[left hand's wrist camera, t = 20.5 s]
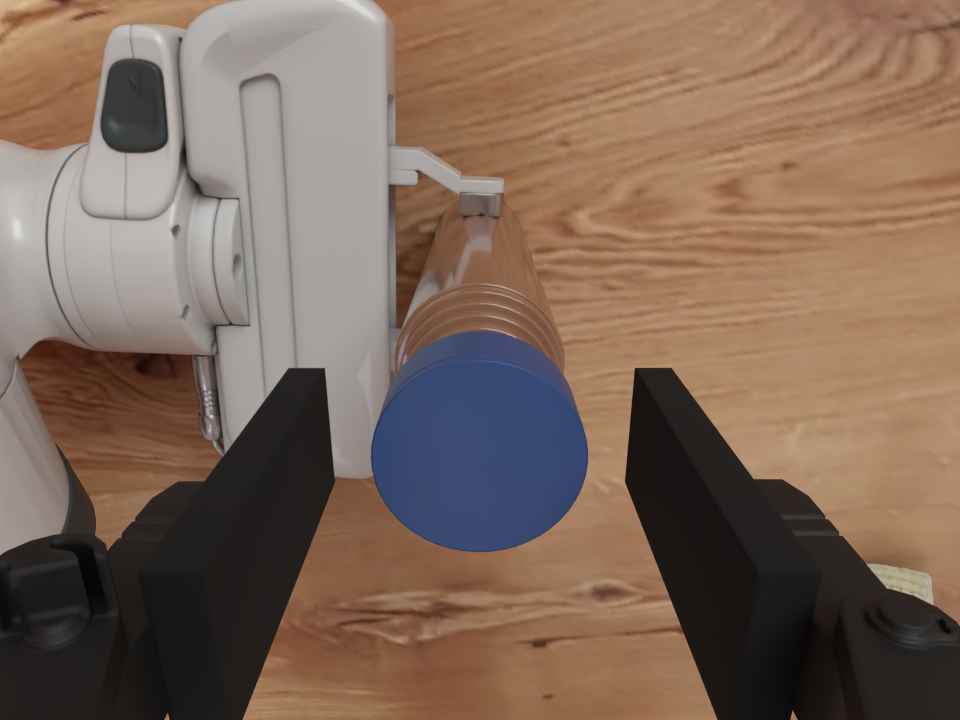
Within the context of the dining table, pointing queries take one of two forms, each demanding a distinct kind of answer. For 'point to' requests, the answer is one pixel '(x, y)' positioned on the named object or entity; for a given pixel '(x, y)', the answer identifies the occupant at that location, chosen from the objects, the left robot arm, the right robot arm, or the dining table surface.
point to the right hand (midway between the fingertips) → (499, 265)
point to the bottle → (479, 287)
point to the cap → (479, 443)
